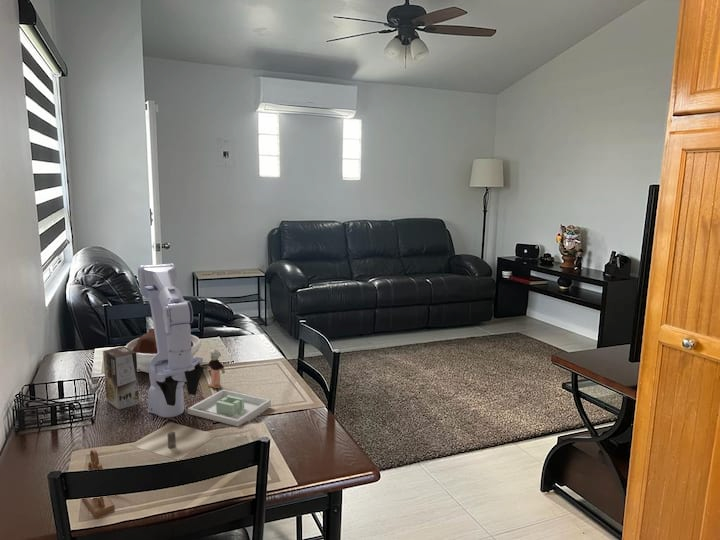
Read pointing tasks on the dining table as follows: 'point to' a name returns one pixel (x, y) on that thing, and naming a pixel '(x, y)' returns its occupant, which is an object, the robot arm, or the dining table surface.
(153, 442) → the board
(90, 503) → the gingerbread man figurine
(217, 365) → the grandmother figurine
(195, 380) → the robot arm
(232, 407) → the green block stack
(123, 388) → the coffee box
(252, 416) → the tray
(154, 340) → the bowl of brown treats
